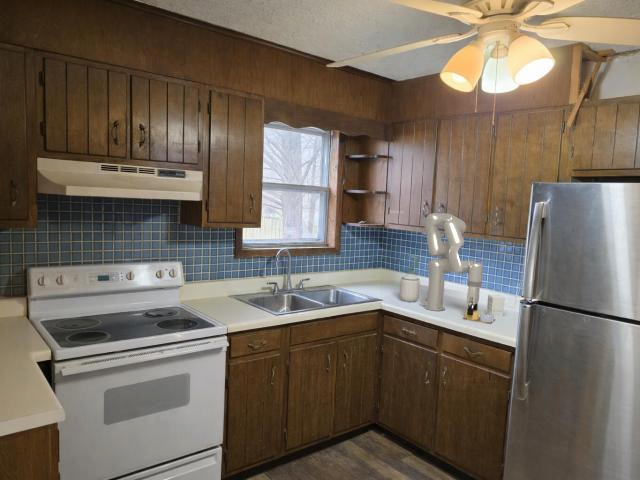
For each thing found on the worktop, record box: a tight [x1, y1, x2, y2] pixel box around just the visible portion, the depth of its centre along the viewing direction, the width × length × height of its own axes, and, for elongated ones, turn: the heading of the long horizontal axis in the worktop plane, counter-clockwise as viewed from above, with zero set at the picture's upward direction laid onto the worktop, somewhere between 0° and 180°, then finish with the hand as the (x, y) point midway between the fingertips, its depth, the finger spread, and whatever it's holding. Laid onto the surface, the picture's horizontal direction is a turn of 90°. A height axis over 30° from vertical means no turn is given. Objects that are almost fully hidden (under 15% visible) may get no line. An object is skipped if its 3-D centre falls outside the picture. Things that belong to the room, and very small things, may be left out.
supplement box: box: [486, 294, 505, 318], centre depth 280 cm, size 7×7×13 cm
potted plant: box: [399, 253, 421, 303], centre depth 312 cm, size 12×12×31 cm
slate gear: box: [479, 311, 495, 323], centre depth 266 cm, size 7×7×4 cm
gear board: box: [461, 310, 496, 325], centre depth 268 cm, size 16×13×7 cm
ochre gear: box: [464, 309, 480, 320], centre depth 270 cm, size 7×7×4 cm
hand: (472, 313), depth 270 cm, fingers open, 9 cm apart
